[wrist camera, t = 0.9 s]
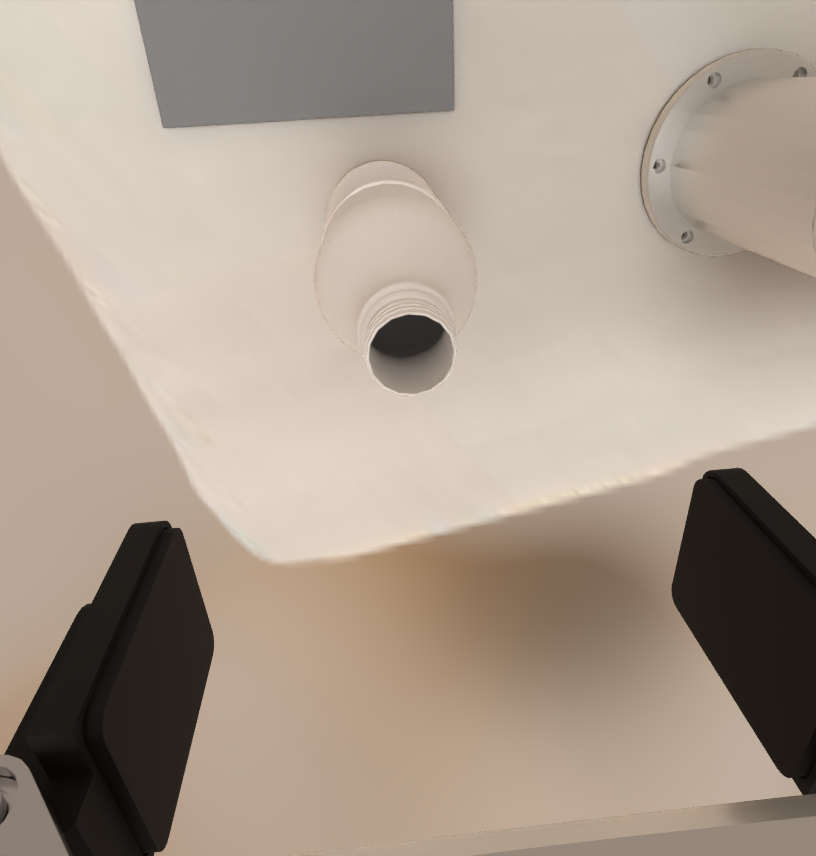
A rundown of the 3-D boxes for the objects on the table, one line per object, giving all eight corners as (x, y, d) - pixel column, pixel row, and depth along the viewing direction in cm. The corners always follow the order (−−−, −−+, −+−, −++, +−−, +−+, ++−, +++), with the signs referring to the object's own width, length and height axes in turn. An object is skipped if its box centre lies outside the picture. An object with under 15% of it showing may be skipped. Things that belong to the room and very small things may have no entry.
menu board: (449, -118, 33) (451, -122, 32) (452, 109, 38) (454, 110, 38) (114, -103, 32) (109, -106, 32) (165, 127, 38) (163, 128, 37)
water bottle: (320, 161, 39) (279, 254, 18) (430, 151, 39) (523, 229, 18) (336, 271, 43) (317, 461, 21) (436, 261, 43) (520, 438, 21)
